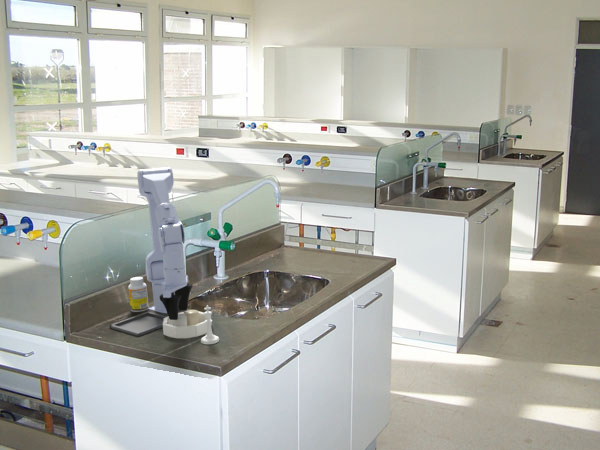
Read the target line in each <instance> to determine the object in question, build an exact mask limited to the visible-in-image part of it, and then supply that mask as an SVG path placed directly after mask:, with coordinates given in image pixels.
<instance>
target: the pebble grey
mask: <svg viewBox="0 0 600 450" xmlns="http://www.w3.org/2000/svg"><path fill="white" fill-rule="evenodd" d="M172 323H173V326H177V327H179V326H187V316H186V315H184V314H179V315H178V319H177V320H172Z"/></svg>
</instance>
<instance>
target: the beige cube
mask: <svg viewBox="0 0 600 450" xmlns="http://www.w3.org/2000/svg"><path fill="white" fill-rule="evenodd" d="M198 311H199V310H197V309H187V310H186V311H183V312H184V315H186V316H187V326H191V325H196V324H199V314H198Z"/></svg>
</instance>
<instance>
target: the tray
mask: <svg viewBox="0 0 600 450" xmlns="http://www.w3.org/2000/svg"><path fill="white" fill-rule="evenodd" d="M166 317H168V315H167V316H166V315H163V314H158V313H157V312H151V311H146V312H145V311H144V312H143V313H139V314H137V315H134V316H132V317H129V318H126V319H123V320H121V321H117V322H113V323H111V324H109V328H110V329H112V330H115V331H118V332H122V333H125V334H128V335H132V336H135V337H141V336H144V335H147V334H149V333H151V332H154V331H156V330H158V329H159V330H160V329H163V321H164V318H166Z"/></svg>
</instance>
